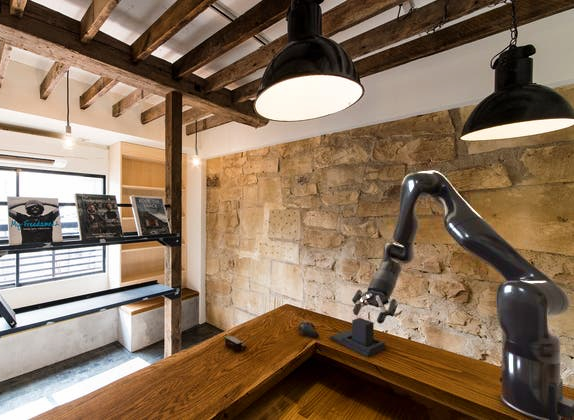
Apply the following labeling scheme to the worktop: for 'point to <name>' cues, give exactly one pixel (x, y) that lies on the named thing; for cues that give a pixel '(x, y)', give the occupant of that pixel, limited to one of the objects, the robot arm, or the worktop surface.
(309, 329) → the game controller
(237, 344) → the wireless earbuds
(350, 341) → the pad
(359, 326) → the dark grey rectangular block
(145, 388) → the worktop surface
